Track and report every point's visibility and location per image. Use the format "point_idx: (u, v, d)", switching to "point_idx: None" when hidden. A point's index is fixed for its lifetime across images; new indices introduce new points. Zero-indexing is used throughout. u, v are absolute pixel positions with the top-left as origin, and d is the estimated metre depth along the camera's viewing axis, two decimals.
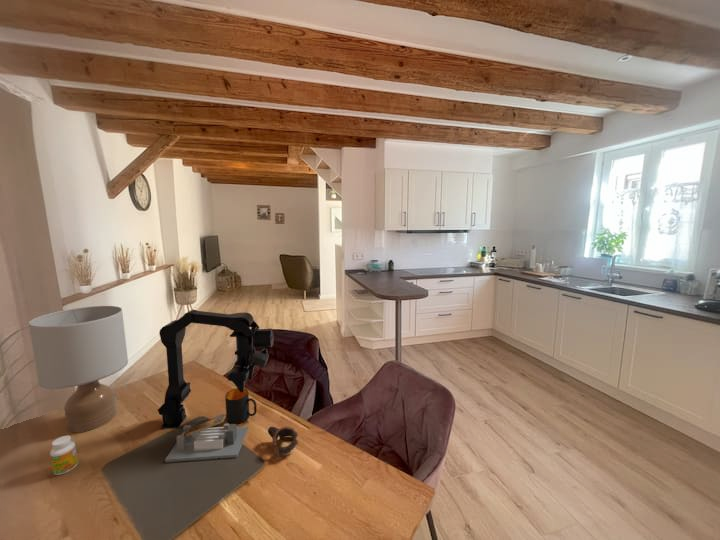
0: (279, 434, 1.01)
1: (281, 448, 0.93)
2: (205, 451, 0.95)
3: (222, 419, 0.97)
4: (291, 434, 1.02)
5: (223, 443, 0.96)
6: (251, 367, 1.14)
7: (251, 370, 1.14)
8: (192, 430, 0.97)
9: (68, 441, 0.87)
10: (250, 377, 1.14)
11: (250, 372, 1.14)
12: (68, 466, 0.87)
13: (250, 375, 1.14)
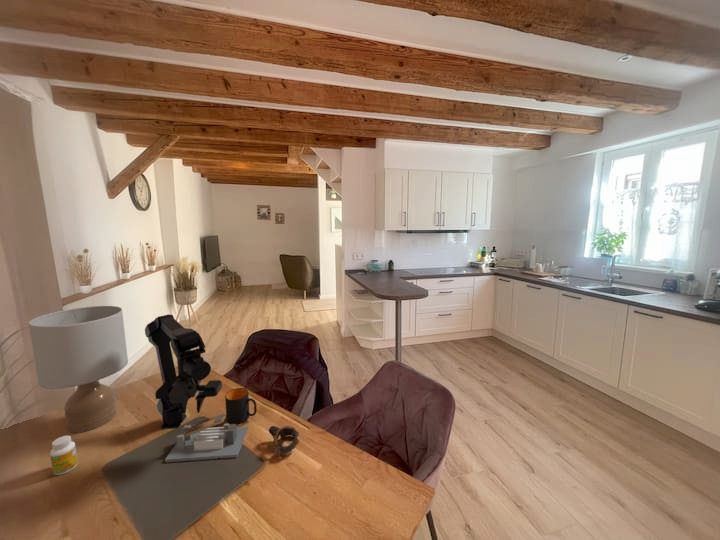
0: (280, 433, 1.01)
1: (282, 447, 0.93)
2: (205, 451, 0.95)
3: (222, 419, 0.97)
4: (292, 433, 1.03)
5: (223, 443, 0.96)
6: None
7: None
8: (192, 430, 0.97)
9: (68, 441, 0.87)
10: None
11: None
12: (68, 466, 0.87)
13: None
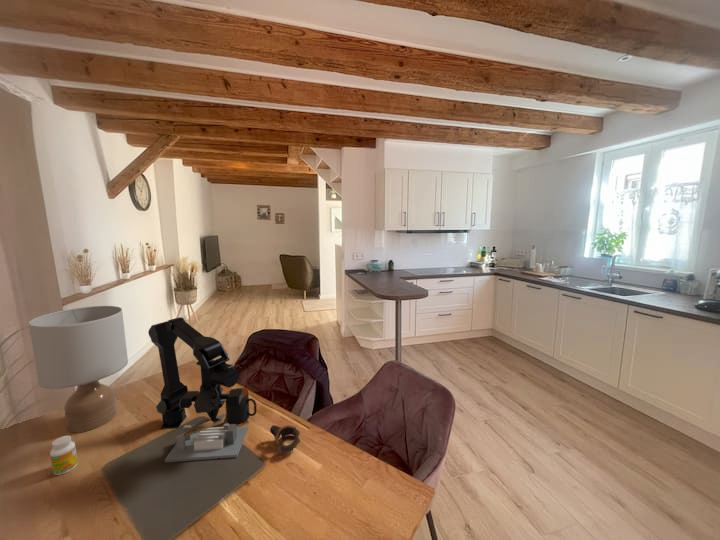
0: (281, 433, 1.02)
1: (284, 446, 0.93)
2: (205, 451, 0.95)
3: (222, 419, 0.97)
4: (293, 433, 1.03)
5: (223, 443, 0.96)
6: None
7: None
8: (192, 430, 0.97)
9: (68, 441, 0.87)
10: None
11: None
12: (68, 466, 0.87)
13: None
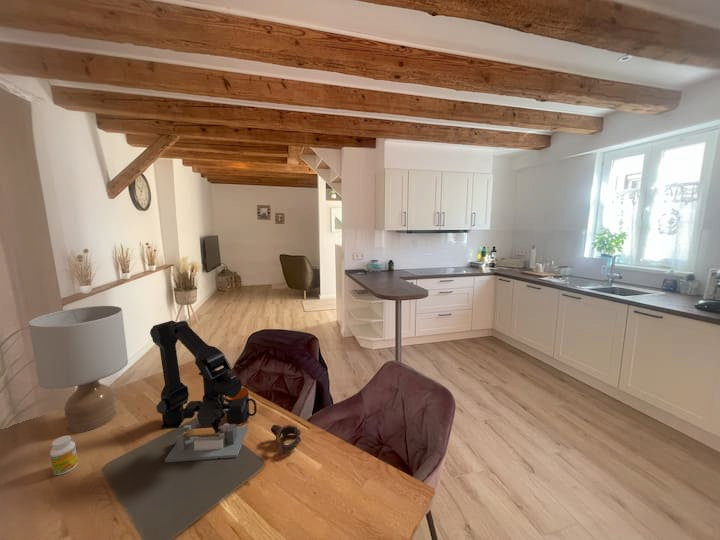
0: (282, 432, 1.02)
1: (285, 446, 0.94)
2: (205, 451, 0.95)
3: (226, 431, 0.98)
4: (294, 432, 1.03)
5: (223, 443, 0.96)
6: None
7: None
8: (193, 433, 0.97)
9: (68, 441, 0.87)
10: None
11: None
12: (68, 466, 0.87)
13: None
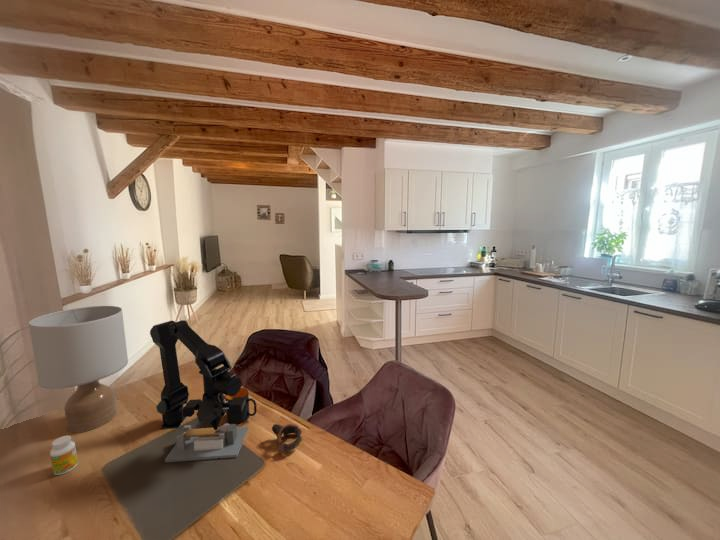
0: (283, 431, 1.02)
1: (286, 445, 0.94)
2: (205, 451, 0.95)
3: (226, 431, 0.98)
4: (295, 431, 1.04)
5: (223, 443, 0.96)
6: None
7: None
8: (193, 433, 0.97)
9: (68, 441, 0.87)
10: None
11: None
12: (68, 466, 0.87)
13: None
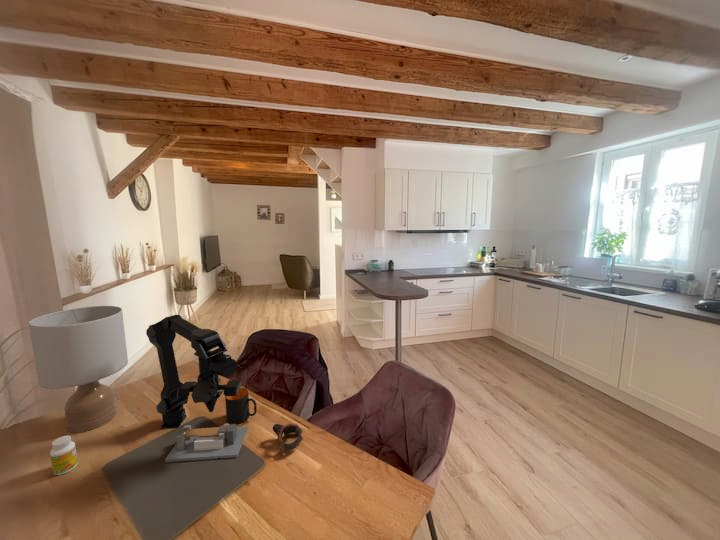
0: (284, 431, 1.02)
1: (287, 444, 0.94)
2: (205, 451, 0.95)
3: (226, 431, 0.98)
4: (295, 431, 1.04)
5: (223, 443, 0.96)
6: None
7: None
8: (193, 433, 0.97)
9: (68, 441, 0.87)
10: None
11: None
12: (68, 466, 0.87)
13: None
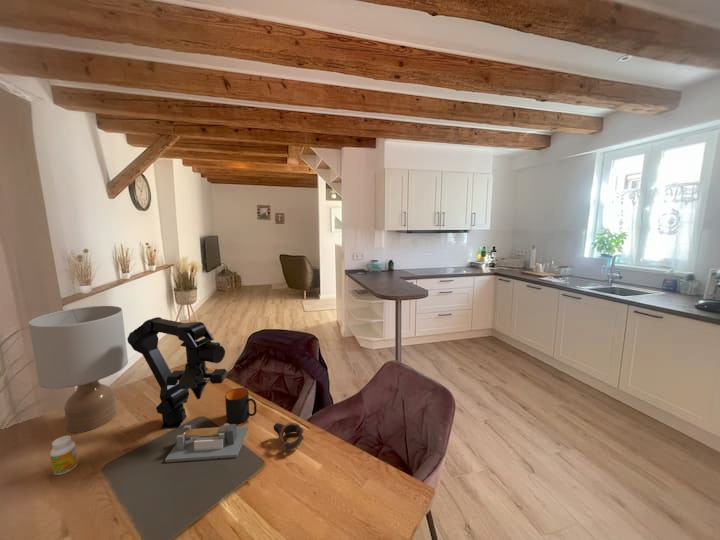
0: (285, 430, 1.03)
1: (288, 444, 0.95)
2: (205, 451, 0.95)
3: (226, 431, 0.98)
4: (296, 430, 1.04)
5: (223, 443, 0.96)
6: None
7: None
8: (193, 433, 0.97)
9: (68, 441, 0.87)
10: None
11: None
12: (68, 466, 0.87)
13: None
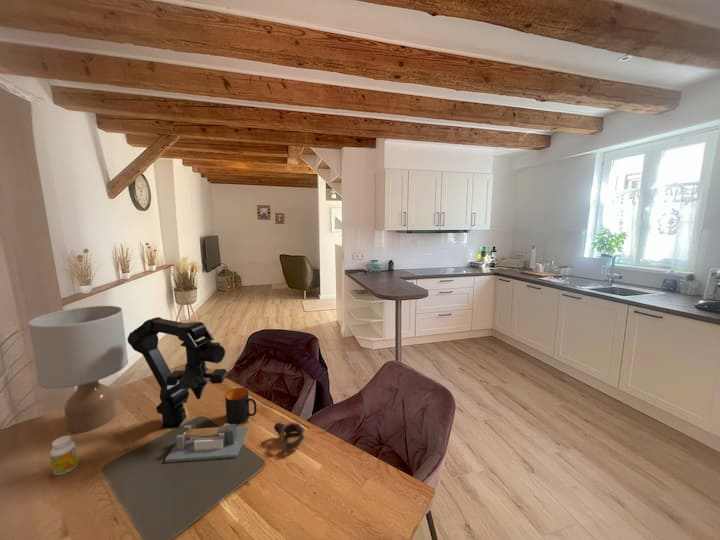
0: (285, 430, 1.03)
1: (288, 443, 0.95)
2: (205, 451, 0.95)
3: (226, 431, 0.98)
4: (297, 430, 1.04)
5: (223, 443, 0.96)
6: None
7: None
8: (193, 433, 0.97)
9: (68, 441, 0.87)
10: None
11: None
12: (68, 466, 0.87)
13: None
